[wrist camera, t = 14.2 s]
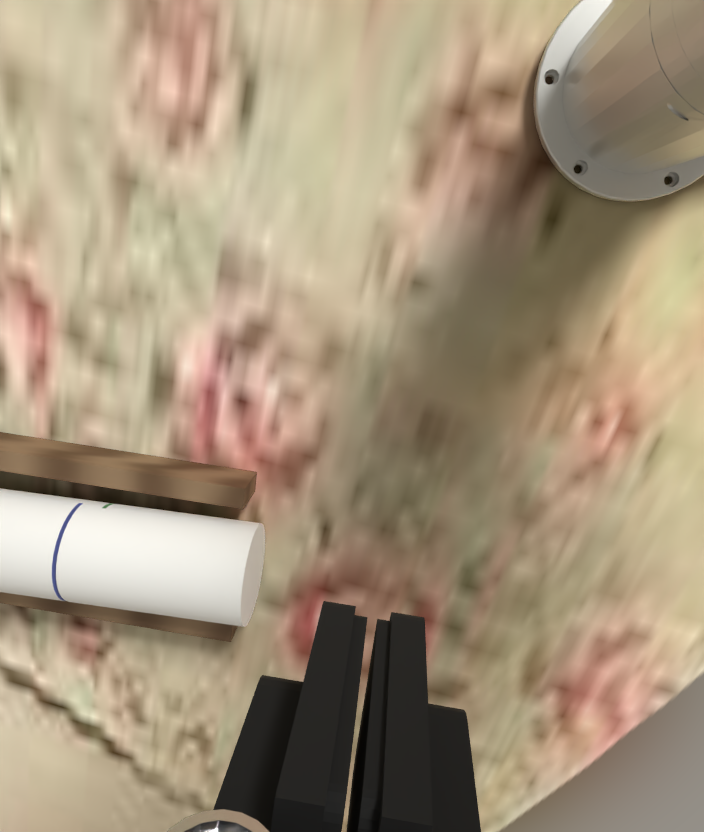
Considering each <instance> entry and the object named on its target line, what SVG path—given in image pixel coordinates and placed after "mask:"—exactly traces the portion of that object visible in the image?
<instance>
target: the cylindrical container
mask: <svg viewBox="0 0 704 832" xmlns="http://www.w3.org/2000/svg"><path fill="white" fill-rule="evenodd" d="M264 554H265V529H264V525H263V524H262V523H257V522H249V521H242V520H234V519H227V518H219V517H212V516H204V515H197V514H189V513H182V512H174V511H167V510H159V509H152V508H144V507H137V506H129V505H122V504H113V503H107V502H99V501H92V500H84V499H76V498H69V497H61V496H54V495H46V494H39V493H31V492H24V491H16V490H8V489H1V488H0V592H4V593H11V594H18V595H25V596H32V597H39V598H46V599H53V600H60V601H68V602H74V603H81V604H88V605H95V606H102V607H109V608H116V609H123V610H130V611H137V612H144V613H151V614H158V615H165V616H172V617H179V618H186V619H193V620H200V621H207V622H214V623H221V624H228V625H235V626H242V627H245V626H247V624H248V623H249V621H250V619H251V616H252V614H253V611H254V608H255V604H256V601H257V597H258V592H259V588H260V583H261V577H262V571H263V564H264Z"/></svg>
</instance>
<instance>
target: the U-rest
mask: <svg viewBox="0 0 704 832" xmlns="http://www.w3.org/2000/svg"><path fill="white" fill-rule="evenodd" d="M0 471H5V472H12V473H18V474H24V475H31V476H37V477H43V478H50V479H56V480H62V481H68V482H75V483H81V484H87V485H94V486H100V487H106V488H113V489H119V490H125V491H132V492H138V493H144V494H150V495H157V496H163V497H169V498H176V499H182V500H188V501H195V502H201V503H207V504H213V505H220V506H226V507H232V508H239V509H244V507H245V506H246V504H247V502H248V501H249V499H250V498H251V496H252V495H253V493H254V492H255V485H256V475H257V472H253V471H246V470H240V469H234V468H227V467H221V466H214V465H208V464H201V463H195V462H189V461H182V460H176V459H169V458H163V457H156V456H150V455H144V454H137V453H131V452H124V451H118V450H111V449H105V448H98V447H92V446H86V445H79V444H73V443H66V442H60V441H53V440H47V439H41V438H34V437H28V436H21V435H15V434H8V433H2V432H0ZM0 603H4V604H10V605H16V606H22V607H28V608H34V609H40V610H45V611H51V612H57V613H63V614H69V615H75V616H81V617H87V618H93V619H98V620H104V621H110V622H116V623H122V624H128V625H134V626H140V627H146V628H152V629H157V630H163V631H169V632H175V633H181V634H187V635H193V636H199V637H205V638H211V639H216V640H222V641H228V642H231V640H232V638H233V635H234V633H235V631H236V629H237V627H238V626H235V625H228V624H221V623H214V622H207V621H200V620H193V619H186V618H179V617H172V616H165V615H158V614H151V613H144V612H137V611H130V610H123V609H116V608H109V607H102V606H95V605H88V604H81V603H74V602H68V601H60V600H53V599H46V598H39V597H32V596H25V595H18V594H11V593H4V592H0Z"/></svg>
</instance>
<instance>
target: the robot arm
mask: <svg viewBox="0 0 704 832" xmlns="http://www.w3.org/2000/svg"><path fill="white" fill-rule="evenodd" d="M546 77H551V78H552V80H553V82H552V84H549V85H548V84H546V82H545V78H546ZM533 108H534V116H535V124H536V129H537V132H538V135H539V138H540V141H541V144H542V146H543V148H544V150H545V152H546V154H547V155H548V157H549V159H550V161H551V162H552V164H553V165H554V166H555V167H556V168H557V169H558V171H559V172H560V173H561V174H562V175H563V176H564V177H565V178H566V179H567V180H569V181H570V182H571V183H573V184H574V185H575V186H577V187H578V188H579V189H581V190H583V191H586V192H588V193H590V194H592V195H594V196H596V197H600V198H604V199H609V200H613V201H629V202H636V201H643V200H650V199H655V198H658V197H662V196H665V195H669V194H672V193H674V192H676V191H678V190H680V189H682V188H685V187H687V186H689V185H691V184H692V183H693V182H695V181H696V180H698V179H699V178H701V177H702V176H704V0H581V1H580V2H578V3H577V4H576V5H575V6H574V7H573V8H572V9H571V10H570V11H569V13H568V14H567V15H566V17H565V18H564V19H563V20H562V22H561V23H560V25H559V26H558V27H557V29H556V30H555V32H554V34H553V35H552V37H551V39H550V40H549V42H548V44H547V46H546V49H545V51H544V53H543V56H542V58H541V61H540V63H539V67H538V71H537V76H536V80H535V84H534V101H533ZM576 165H578V166H580V168H581V171H580V173H578V174H577V173H575V172H574V167H575V166H576ZM665 177H669V179H670V183H669V184H668V185H666V184H665V183H664V178H665ZM355 608H356V606H351V605H345V604H339V603H332V602H326V601H324V602H323V605H322V609H321V614H320V618H319V622H318V626H317V630H316V634H315V638H314V642H313V646H312V650H311V654H310V658H309V662H308V666H307V670H306V674H305V678H304V682H299V681H293V680H287V679H281V678H276V677H270V676H264V675H262V676H261V678H260V680H259V682H258V685H257V688H256V691H255V693H254V696H253V699H252V702H251V705H250V708H249V710H248V713H247V716H246V719H245V722H244V725H243V727H242V730H241V733H240V736H239V739H238V742H237V744H236V747H235V750H234V753H233V756H232V759H231V761H230V764H229V767H228V770H227V773H226V776H225V778H224V781H223V784H222V787H221V790H220V792H219V795H218V798H217V801H216V804H215V807H214V809H213V810H209V811H202V812H200V813H197V814H194V815H191V816H189V817H186V818H184V819H183V820H181V821H180V822H178V823H177V824H175V825H174V826H173V827H171V828H170V829H168V831H167V832H341V830H342V823H343V816H344V809H345V801H346V794H347V786H348V777H349V769H350V760H351V752H352V743H353V735H354V726H355V718H356V709H357V701H358V692H359V684H360V675H361V667H362V658H363V649H364V641H365V632H366V624H367V617H362V616H356V615H355ZM347 832H481V828H480V820H479V812H478V804H477V796H476V787H475V779H474V771H473V763H472V755H471V747H470V738H469V730H468V722H467V716H466V712H465V711H464V710H462V709H456V708H450V707H444V706H438V705H433V704H428V692H427V666H426V641H425V620H424V618H423V617H417V616H411V615H405V614H399V613H393V612H392V613H391V616H390V621H386V620H380V619H378V620H377V625H376V631H375V637H374V643H373V649H372V656H371V662H370V668H369V674H368V681H367V687H366V693H365V700H364V706H363V712H362V718H361V725H360V731H359V737H358V743H357V750H356V756H355V763H354V770H353V779H352V788H351V797H350V806H349V815H348V824H347Z"/></svg>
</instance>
